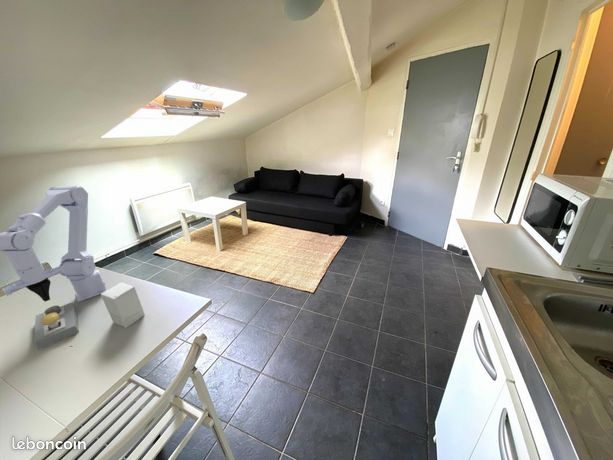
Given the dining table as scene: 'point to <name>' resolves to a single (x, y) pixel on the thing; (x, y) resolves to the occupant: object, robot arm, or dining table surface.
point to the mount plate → (66, 329)
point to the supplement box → (123, 304)
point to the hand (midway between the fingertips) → (46, 299)
